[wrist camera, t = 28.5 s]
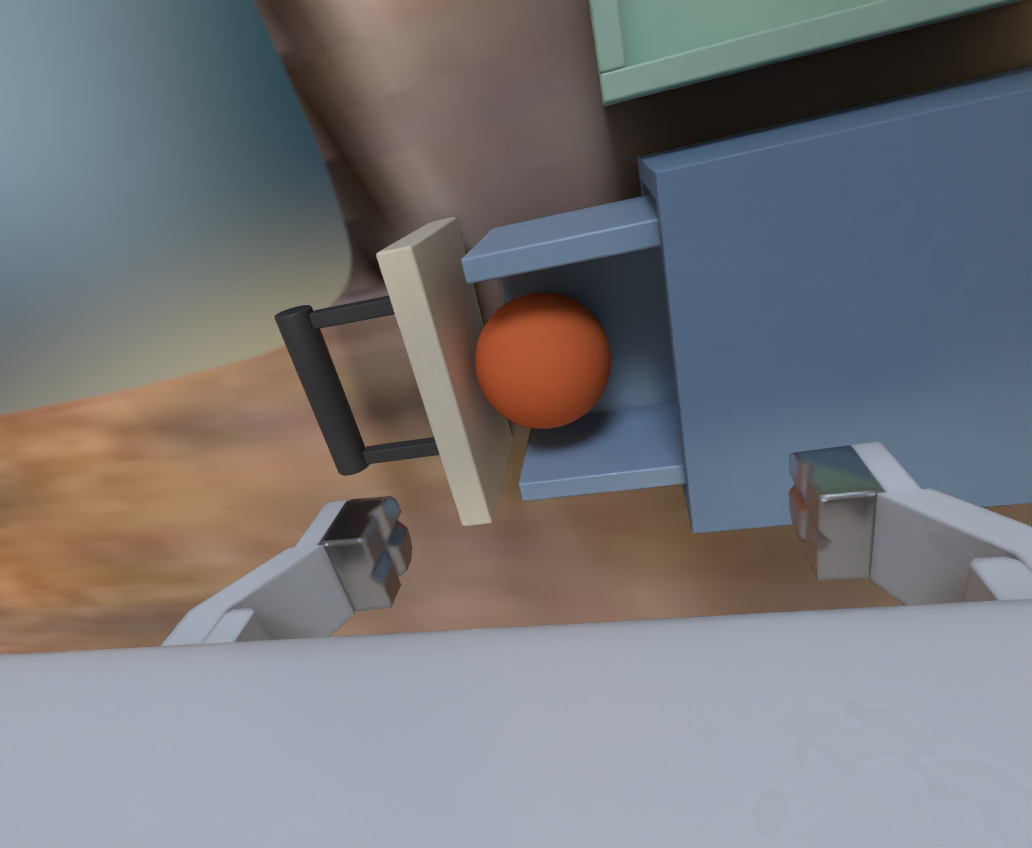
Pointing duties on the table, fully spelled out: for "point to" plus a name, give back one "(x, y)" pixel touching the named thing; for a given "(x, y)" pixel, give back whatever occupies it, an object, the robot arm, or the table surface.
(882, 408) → the cabinet
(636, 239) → the drawer
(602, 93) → the tote
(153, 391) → the table surface
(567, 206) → the table surface
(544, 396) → the ball
